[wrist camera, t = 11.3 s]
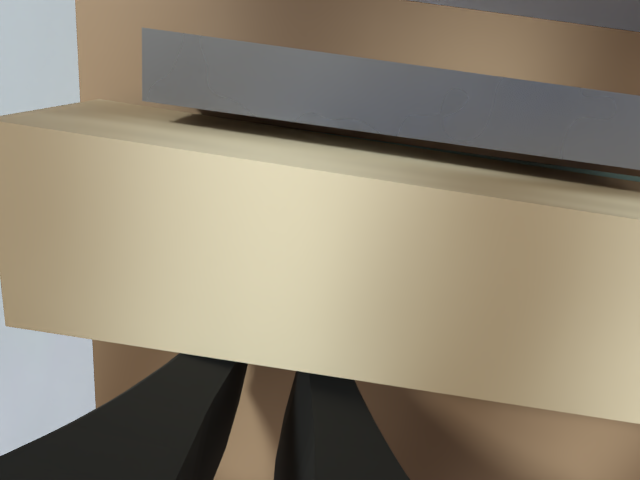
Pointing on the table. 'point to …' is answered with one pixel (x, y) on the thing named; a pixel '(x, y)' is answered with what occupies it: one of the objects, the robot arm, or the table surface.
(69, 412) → the table surface
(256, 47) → the bar
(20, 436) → the table surface
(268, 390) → the stool board
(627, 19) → the table surface
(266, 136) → the leg
